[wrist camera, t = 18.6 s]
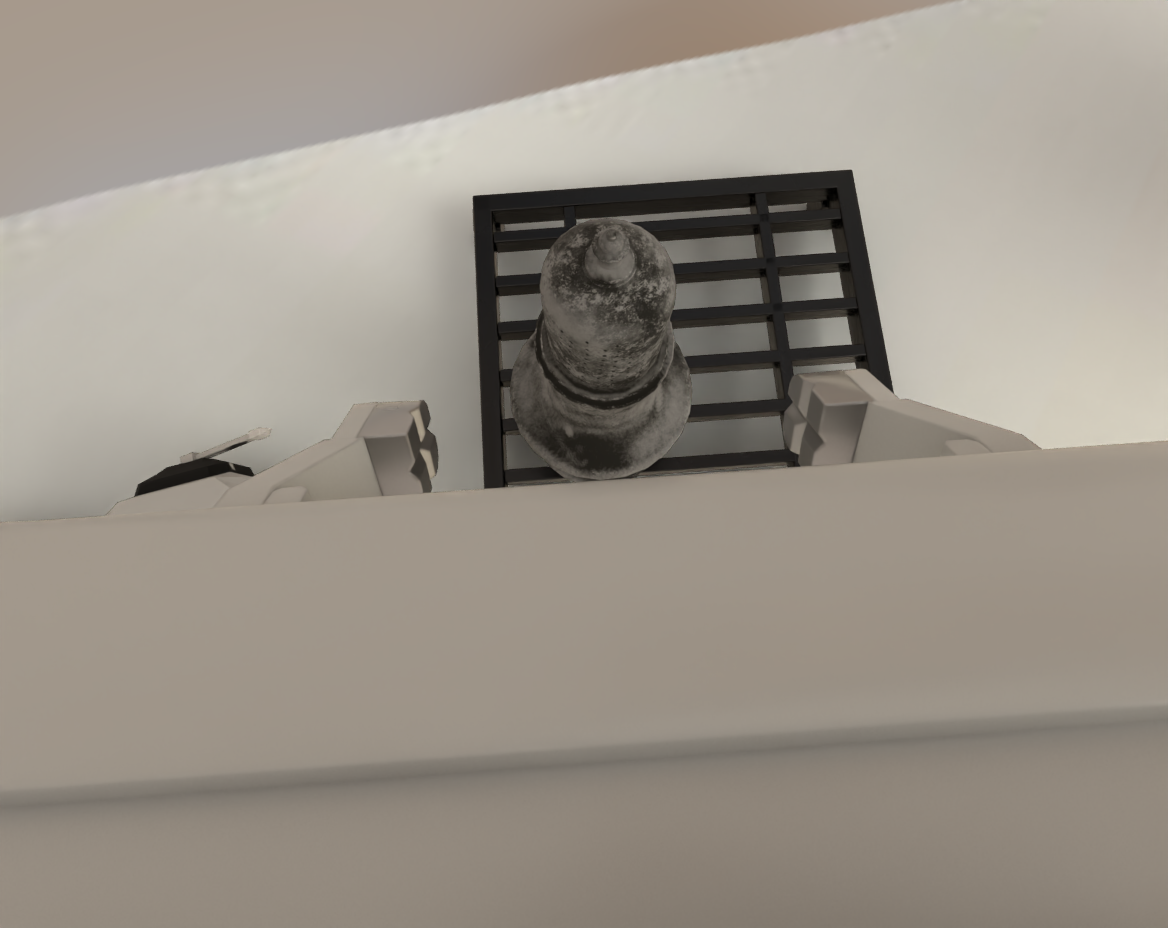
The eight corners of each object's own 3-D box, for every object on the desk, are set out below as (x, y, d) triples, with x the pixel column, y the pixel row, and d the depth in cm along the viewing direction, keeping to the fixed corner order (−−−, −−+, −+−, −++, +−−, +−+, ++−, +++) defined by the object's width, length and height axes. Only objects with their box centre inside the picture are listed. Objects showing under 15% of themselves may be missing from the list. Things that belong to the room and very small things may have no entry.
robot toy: (20, 835, 22) (388, 747, 21) (-136, 906, 17) (324, 796, 17) (7, 529, 24) (337, 442, 24) (-134, 522, 20) (270, 415, 19)
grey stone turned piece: (625, 321, 22) (667, 36, 10) (704, 446, 21) (850, 289, 9) (495, 391, 22) (384, 177, 10) (569, 523, 21) (545, 460, 9)
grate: (830, 202, 26) (856, 164, 23) (885, 511, 23) (920, 504, 21) (478, 227, 26) (467, 191, 23) (491, 540, 23) (480, 536, 21)
